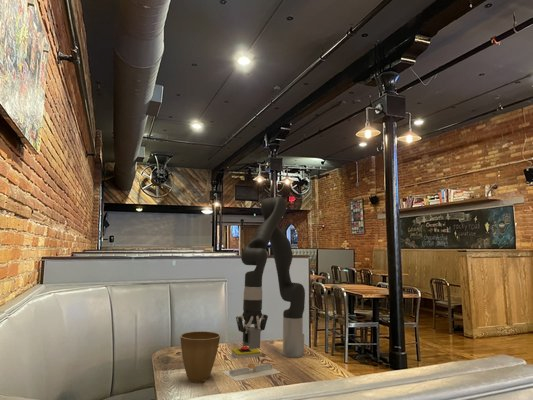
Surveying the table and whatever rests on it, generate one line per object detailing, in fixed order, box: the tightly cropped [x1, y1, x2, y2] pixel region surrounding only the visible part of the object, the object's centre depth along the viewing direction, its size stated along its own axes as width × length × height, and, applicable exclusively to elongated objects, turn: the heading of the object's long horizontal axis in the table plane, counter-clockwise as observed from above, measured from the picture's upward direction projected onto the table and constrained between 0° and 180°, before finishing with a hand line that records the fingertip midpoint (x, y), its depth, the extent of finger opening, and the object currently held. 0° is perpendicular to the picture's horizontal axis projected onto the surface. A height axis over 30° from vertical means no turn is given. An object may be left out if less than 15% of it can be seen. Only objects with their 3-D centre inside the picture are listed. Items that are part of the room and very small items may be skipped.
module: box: [242, 326, 262, 349], centre depth 147 cm, size 4×6×7 cm
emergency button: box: [228, 346, 262, 360], centre depth 170 cm, size 9×4×15 cm
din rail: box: [229, 363, 273, 377], centre depth 145 cm, size 18×2×2 cm, turn 123°
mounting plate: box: [221, 363, 282, 383], centre depth 145 cm, size 20×12×1 cm, turn 123°
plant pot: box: [179, 330, 221, 383], centre depth 139 cm, size 15×15×16 cm
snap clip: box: [247, 363, 256, 369], centre depth 145 cm, size 2×2×1 cm
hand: (251, 342), depth 147 cm, fingers closed on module, 4 cm apart
